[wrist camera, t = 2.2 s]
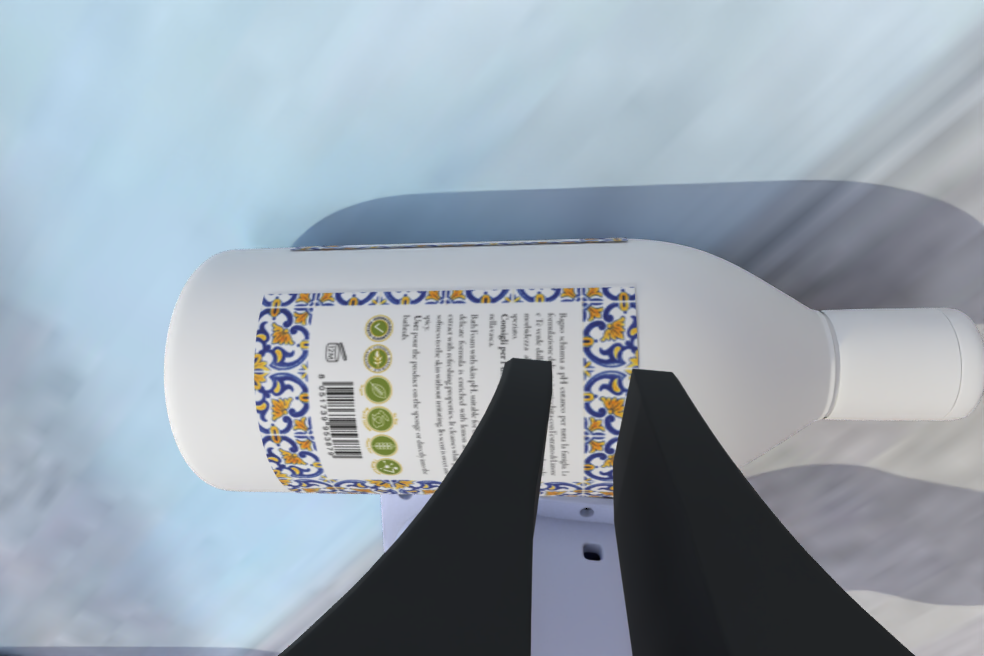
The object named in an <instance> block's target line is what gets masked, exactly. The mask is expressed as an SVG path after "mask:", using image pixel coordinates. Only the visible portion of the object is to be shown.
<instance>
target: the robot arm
mask: <svg viewBox="0 0 984 656" xmlns="http://www.w3.org/2000/svg"><path fill="white" fill-rule="evenodd" d="M552 390H553V388H552V361H544V360H533V359H521V358H511V359H510V360H509V361H507V362H506V363H505V364H504V369H503V373H502V376H501V378H500V381H499V384H498V386H497V389H496V391H495V393H494V395H493V398H492V400H491V402H490V404H489V406H488V408H487V410H486V412H485V414H484V416H483V417H482V419H481V421H480V423H479V424H478V426H477V428H476V429H475V431H474V433H473V435H472V436H471V438H470V440H469V442H468V443H467V445H466V447H465V448H464V450H463V452H462V453H461V455H460V456H459V458H458V459H457V461H456V462H455V463H454V465H453V466H452V468H451V469H450V471H449V472H448V474H447V475H446V477H445V478H444V480H443V481H442V483H441V484H440V486H439V487H438V488H437V490H436V491H435V492H434V494H433V495H418V494H380V497H381V512H382V528H383V544H384V554H383V555H382V556H381V558H380V559H379V560H378V561H377V562H376V563H375V564H374V565H373V566H372V568H371V569H370V570H369V571H368V572H367V573H366V574H365V575H364V576H363V577H362V578H361V579H360V580H359V581H358V582H357V583H356V584H355V585H354V586H353V587H352V588H351V589H350V590H349V591H348V592H347V593H346V594H345V595H344V596H343V597H342V598H341V599H340V600H339V601H338V602H337V603H335V604H334V605H333V606H332V607H331V608H330V609H329V610H328V611H327V612H326V613H325V614H324V615H323V616H322V617H321V618H319V619H318V620H317V621H316V622H315V623H314V624H313V625H312V626H311V627H310V628H309V629H308V630H307V631H306V632H304V633H303V634H302V635H301V636H300V637H299V638H298V639H297V640H296V641H295V642H293V643H292V644H291V645H290V646H289V647H288V648H287V649H285V650H284V651H283V652H282V653H281V654H279V655H278V656H915V655H914V654H912V653H911V652H910V651H909V650H908V649H907V648H906V647H905V646H903V645H902V644H901V643H900V642H899V641H898V640H897V639H896V638H895V637H894V636H892V635H891V634H890V633H889V632H888V631H887V630H886V629H885V628H884V627H883V626H881V625H880V624H879V623H878V622H877V621H876V620H875V619H874V618H873V617H872V616H870V615H869V614H868V613H867V612H866V611H865V610H864V609H863V608H862V607H861V606H860V605H859V604H858V603H857V602H856V601H854V600H853V599H852V598H851V597H850V596H849V595H848V594H847V593H846V592H845V591H844V590H843V589H842V588H841V587H840V586H839V585H838V584H837V583H836V582H835V581H834V580H833V579H832V578H831V577H830V576H829V575H828V574H827V572H826V571H825V570H824V569H823V568H822V567H821V566H820V565H819V564H818V563H817V562H816V561H815V560H814V559H813V558H812V557H811V556H810V555H809V554H808V553H807V552H806V551H805V549H804V548H803V547H802V546H801V545H800V544H799V543H798V542H797V541H796V539H795V538H794V537H793V536H792V535H791V534H790V532H789V531H788V530H787V529H786V528H785V527H784V526H783V524H782V523H781V522H780V521H779V519H778V518H777V517H776V516H775V515H774V513H773V512H772V511H771V510H770V509H769V507H768V506H767V505H766V504H765V502H764V501H763V500H762V499H761V497H760V496H759V495H758V494H757V492H756V491H755V490H754V488H753V487H752V486H751V485H750V483H749V482H748V481H747V479H746V478H745V477H744V475H743V474H742V473H741V471H740V470H739V469H738V467H737V466H736V464H735V463H734V462H733V460H732V459H731V458H730V456H729V455H728V454H727V452H726V451H725V449H724V448H723V447H722V445H721V444H720V442H719V441H718V439H717V438H716V437H715V435H714V434H713V432H712V431H711V429H710V428H709V426H708V425H707V423H706V422H705V420H704V419H703V417H702V416H701V414H700V413H699V411H698V410H697V408H696V407H695V405H694V403H693V402H692V400H691V399H690V397H689V396H688V394H687V392H686V391H685V389H684V388H683V386H682V384H681V383H680V381H679V380H678V378H677V377H676V376H675V375H674V373H673V372H667V371H656V370H645V369H633V368H632V373H631V378H630V383H629V387H628V392H627V397H626V402H625V407H624V412H623V417H622V421H621V426H620V431H619V436H618V441H617V446H616V450H615V455H614V460H613V499H607V498H597V497H566V496H539V493H540V485H541V477H542V469H543V461H544V454H545V446H546V438H547V430H548V422H549V414H550V406H551V398H552ZM584 508H590V509H584Z"/></svg>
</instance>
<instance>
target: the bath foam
mask: <svg viewBox="0 0 984 656" xmlns="http://www.w3.org/2000/svg"><path fill="white" fill-rule="evenodd" d="M511 358H521V359H533V360H544V361H552V388H553V390H552V398H551V406H550V414H549V422H548V430H547V438H546V446H545V454H544V461H543V469H542V477H541V485H540V493H539V496H566V497H613V460H614V455H615V450H616V446H617V441H618V436H619V431H620V426H621V421H622V417H623V412H624V407H625V402H626V397H627V392H628V387H629V383H630V378H631V373H632V368H633V369H645V370H656V371H667V372H673V373H674V375H675V376H676V377H677V378H678V380H679V381H680V383H681V384H682V386H683V388H684V389H685V391H686V392H687V394H688V396H689V397H690V399H691V400H692V402H693V403H694V405H695V407H696V408H697V410H698V411H699V413H700V414H701V416H702V417H703V419H704V420H705V422H706V423H707V425H708V426H709V428H710V429H711V431H712V432H713V434H714V435H715V437H716V438H717V439H718V441H719V442H720V444H721V445H722V447H723V448H724V449H725V451H726V452H727V454H728V455H729V456H730V458H731V459H732V460H733V462H734V463H735V464H736V466H737V467H738V469H739V468H741V467H743V466H744V465H746V464H748V463H750V462H751V461H753V460H755V459H756V458H758V457H760V456H761V455H763V454H765V453H766V452H768V451H769V450H771V449H772V448H774V447H776V446H777V445H779V444H780V443H782V442H783V441H785V440H786V439H788V438H789V437H791V436H793V435H794V434H796V433H797V432H799V431H800V430H802V429H803V428H805V427H806V426H808V425H809V424H811V423H812V422H814V421H815V420H821V419H827V420H875V421H948V420H958V419H961V418H964V417H966V416H968V415H969V414H970V413H971V412H973V410H974V409H975V408H976V407H977V405H978V404H979V402H980V400H981V397H982V395H983V391H984V344H983V341H982V337H981V335H980V332H979V330H978V328H977V327H976V325H975V323H974V322H973V321H972V320H971V318H970V317H969V316H967V315H966V314H965V313H963V312H962V311H960V310H956V309H953V308H887V309H839V310H822V311H818V310H812V309H810V308H808V307H807V306H805V305H803V304H802V303H800V302H798V301H797V300H795V299H794V298H792V297H790V296H789V295H787V294H785V293H784V292H782V291H780V290H779V289H777V288H775V287H774V286H772V285H770V284H769V283H767V282H765V281H764V280H762V279H760V278H758V277H757V276H755V275H753V274H751V273H750V272H748V271H746V270H744V269H742V268H741V267H739V266H737V265H735V264H733V263H731V262H729V261H727V260H725V259H722V258H720V257H717V256H715V255H713V254H710V253H708V252H705V251H701V250H698V249H695V248H692V247H688V246H684V245H679V244H675V243H669V242H663V241H655V240H646V239H627V238H595V239H559V240H522V241H486V242H450V243H414V244H377V245H341V246H305V247H292V248H256V249H235V250H227V251H223V252H220V253H218V254H215V255H213V256H212V257H210V258H208V259H207V260H206V261H204V262H203V263H202V264H201V265H200V266H199V267H198V268H197V269H196V270H195V271H194V272H193V274H192V275H191V276H190V278H189V279H188V281H187V282H186V284H185V286H184V287H183V289H182V291H181V293H180V295H179V298H178V300H177V303H176V305H175V308H174V311H173V314H172V317H171V321H170V325H169V330H168V335H167V341H166V348H165V359H164V388H165V399H166V406H167V412H168V417H169V422H170V426H171V429H172V432H173V435H174V438H175V441H176V443H177V446H178V448H179V450H180V452H181V454H182V456H183V458H184V459H185V461H186V463H187V464H188V465H189V467H190V468H191V469H192V471H193V472H194V473H195V474H196V475H197V476H198V477H199V478H200V479H202V480H203V481H204V482H206V483H207V484H209V485H211V486H213V487H215V488H218V489H222V490H228V491H247V492H296V493H343V494H418V495H433V494H434V492H435V491H436V490H437V488H438V487H439V486H440V484H441V483H442V481H443V480H444V478H445V477H446V475H447V474H448V472H449V471H450V469H451V468H452V466H453V465H454V463H455V462H456V461H457V459H458V458H459V456H460V455H461V453H462V452H463V450H464V448H465V447H466V445H467V443H468V442H469V440H470V438H471V436H472V435H473V433H474V431H475V429H476V428H477V426H478V424H479V423H480V421H481V419H482V417H483V416H484V414H485V412H486V410H487V408H488V406H489V404H490V402H491V400H492V398H493V395H494V393H495V391H496V389H497V386H498V384H499V381H500V378H501V376H502V373H503V369H504V364H505V363H506V362H507V361H509V360H510V359H511Z"/></svg>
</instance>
